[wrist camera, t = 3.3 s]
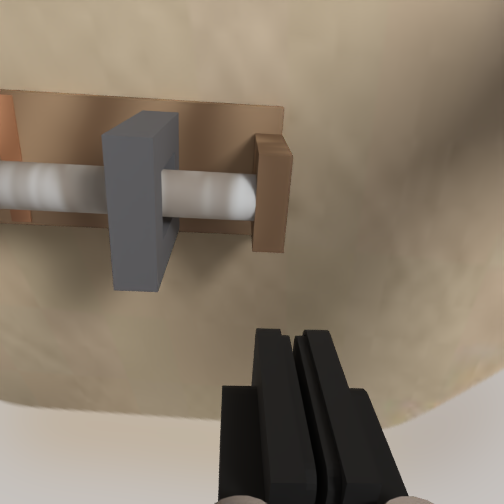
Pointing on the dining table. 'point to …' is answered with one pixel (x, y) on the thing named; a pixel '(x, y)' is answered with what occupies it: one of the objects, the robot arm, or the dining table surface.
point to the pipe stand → (173, 181)
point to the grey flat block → (140, 197)
